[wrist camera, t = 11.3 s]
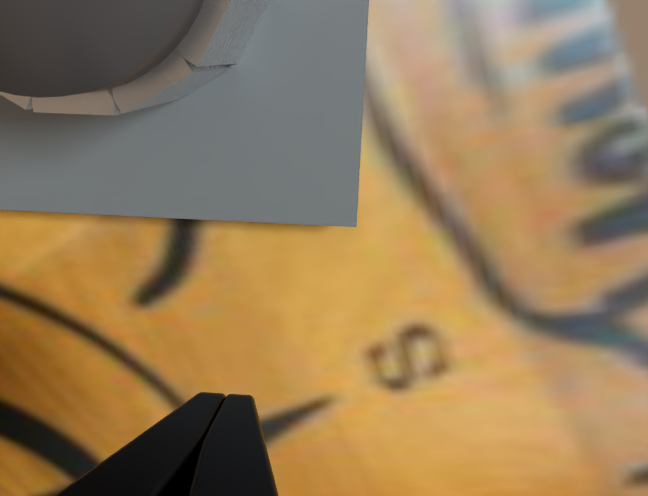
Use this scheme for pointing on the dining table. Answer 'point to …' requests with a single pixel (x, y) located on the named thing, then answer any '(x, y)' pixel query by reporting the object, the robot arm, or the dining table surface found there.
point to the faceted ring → (170, 64)
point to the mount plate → (214, 135)
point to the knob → (86, 42)
